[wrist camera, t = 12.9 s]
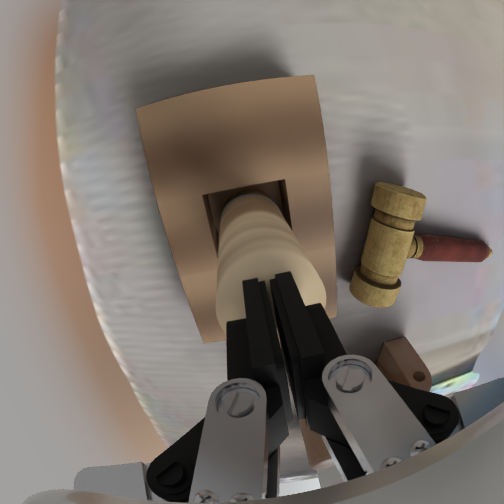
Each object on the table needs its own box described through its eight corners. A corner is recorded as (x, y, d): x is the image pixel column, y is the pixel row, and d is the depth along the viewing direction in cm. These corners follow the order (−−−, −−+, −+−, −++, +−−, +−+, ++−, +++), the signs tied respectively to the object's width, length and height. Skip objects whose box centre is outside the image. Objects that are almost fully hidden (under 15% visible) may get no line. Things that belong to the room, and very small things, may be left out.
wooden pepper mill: (214, 190, 20) (200, 269, 9) (271, 180, 20) (325, 245, 9) (226, 242, 22) (228, 357, 11) (279, 232, 22) (328, 337, 11)
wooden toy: (407, 334, 30) (506, 496, 7) (394, 369, 32) (468, 517, 10) (286, 357, 29) (341, 585, 6) (284, 392, 32) (325, 580, 9)
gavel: (514, 221, 21) (488, 295, 25) (489, 208, 25) (466, 278, 30) (396, 191, 18) (362, 310, 22) (365, 178, 22) (341, 282, 26)
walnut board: (151, 112, 18) (135, 108, 14) (298, 84, 18) (314, 75, 14) (206, 314, 25) (203, 343, 22) (322, 291, 26) (336, 316, 22)
